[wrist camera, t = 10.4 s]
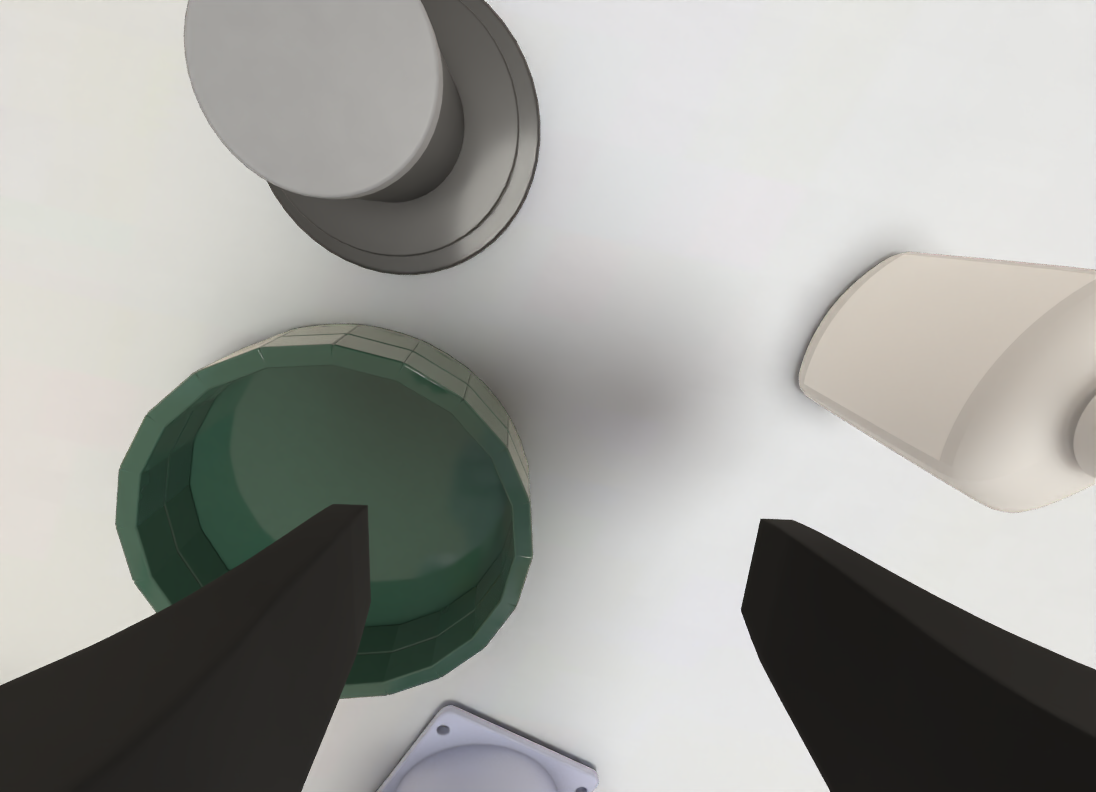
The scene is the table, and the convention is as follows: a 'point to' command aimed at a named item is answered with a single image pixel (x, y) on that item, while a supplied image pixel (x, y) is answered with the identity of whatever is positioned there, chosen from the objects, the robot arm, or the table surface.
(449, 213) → the gray stand
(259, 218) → the table surface
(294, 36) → the black canister
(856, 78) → the table surface
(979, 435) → the eye dropper bottle
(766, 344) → the table surface
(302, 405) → the tin
